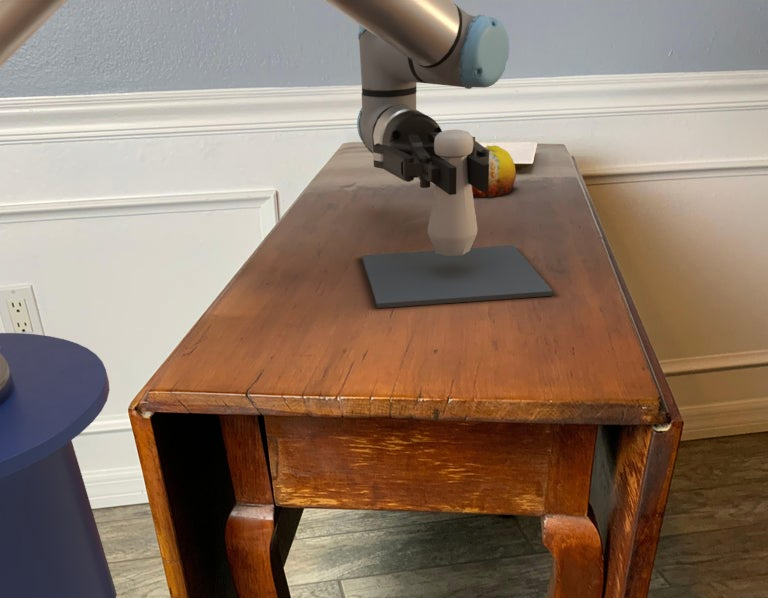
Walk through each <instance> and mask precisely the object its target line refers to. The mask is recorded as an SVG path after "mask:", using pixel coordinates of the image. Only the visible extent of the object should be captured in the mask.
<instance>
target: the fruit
mask: <svg viewBox="0 0 768 598" xmlns="http://www.w3.org/2000/svg"><path fill="white" fill-rule="evenodd" d="M485 148H486V149H488V150H489V183H488V191H484V192H481V191H480V190H478V189H477V188H475V187H473V186H472V185H471V186H472V193H473V198H492V197H500V196H505V195H507V194H509V193H510V192H511V191H512V189H513V188H514V186H515V181H516V175H517V172H516V171H517V170H516V171H515V165H514V162H513V159H512V158H511V156H510V154H509V153H508V152H507V151H506V150H504V149H502V148H500V147H499V146H487V147H485Z"/></svg>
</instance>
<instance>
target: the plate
mask: <svg viewBox="0 0 768 598" xmlns="http://www.w3.org/2000/svg"><path fill="white" fill-rule="evenodd" d="M477 142H478V143H479V144H480V145H482V146H483V147H487V146H499V147H500V148H502V149H504V150H506V151H507V152H508V153H509V154H510V156H511V158H512V159H513V162H514V165H515V171H519V170H523V169H525V168H528V167H532V165H533V164H534V160H535V156H536V151H537V146H538V143H537V142H535V141H532V142H531V141H524V142H523V141H496V142H495V141H477Z"/></svg>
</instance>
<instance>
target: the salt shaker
mask: <svg viewBox="0 0 768 598" xmlns="http://www.w3.org/2000/svg"><path fill="white" fill-rule="evenodd" d="M472 136H473V135H472V134H471V133H470V132H469V131H467V130H462V129H447V130H446V129H445V130H442V132H440V133H438V134H437V135H436V137H435V140H434V151H435V153H436V155H438V156H440V158H442V159H444V160H445V161H447V162H449V163H450V164H452V165H453V166H455V167H457V176H456V194H454V195H449V194H448V193H446V192H445V191H443V190H442V189H441V188H439V187H438V186H436V185H435V186H434V192H433V197H432V203H431V208H430V214H429V220H428V224H427V225H428V226H427V235H428V237H429V240H430V242H431V244H432V247H433V250H435V252H436V253H437V254H441V255H445V256H455V255H463V254H465V253H467V252H469V251H470V249H471V248H473V247H472V246H473V244H474V242H475V240H476V237H477V235H478V231H479V229H478V223H477V222H478V221H477V216H476V207H475V201H474V197H473V193H472V186H471V185H470V184H469V183H468V166H467V155H469V154H471V153H472V150H473V137H474V136H473V137H472Z"/></svg>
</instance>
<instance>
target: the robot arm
mask: <svg viewBox="0 0 768 598" xmlns="http://www.w3.org/2000/svg"><path fill="white" fill-rule="evenodd" d="M67 1H68V0H0V68H1V67H2V66H3V65H4V64H5V63H6V62H7V61H8V60H9V59H10V58H12V56H14V54H16V52H17V51H18V50H20V48H21V47H22V46H24V45H25V43H27V41H29V39H30V38H32V37H33V36H34V35H35V33H37V32H38V30H40V29H41V28H42V26H43V25H45V24H46V22H47V21H49V19H50V18H52V17H53V15H54V14H56V13H57V11H59V10H60V9H61V7H63V6H64V5H65V4H66V3H67ZM322 1H323V2H325V3H326V4H328V5H330V6H331V7H332V8H333V9H335V10H337V11H338V12H340V13H341V14H343V15H345V17H347V18H349V19H350V20H352V21H353V22H355V23H356V24H358V34H357V37H358V43H359V44H358V45H359V60H360V61H359V62H360V78H361V108H360V111H359V112H358V115H357V119H356V128H357V129H356V130H357V133H358V134H357V135H358V136H359V138H360V140H361V141H362V144H363V145H364V147H365V148H366V149H367V151H369V153H370V154H372V156H373V167H374V168H377V169H382V170H384V171H386V172H387V173H389V174H390V175H393V176H395V177H396V178H398V179H400V180H402V181H404V182H406V183H410V182H413V181H415V179H419V188H421V189H427V188H429V189H430V188H431V184H434V185H435V186H438V187H439V188H441V189H442V190H443V191H445V192H446V193H448V194H449V195H454V194H456V176H457V167H455V166H453V165H452V164H450V163H449V162H447V161H445V160H444V159H442V158H440V156H438V155H436V153H435V151H434V140H435V137H436V135H437V134H438V133H440V132H442V131H443V130H442V128H441V126H440V124H439V123H438V122H437V121H436V120H435V119H433V118H432V117H431V116H429V115H427V114H425V113H423V112H421V111H420V110H418V109H417V84H418V83H419V84H430V85H437V86H438V85H439V86H448V87H449V86H450V87H456V88H457V87H458V88H464V89H467V90H471V89H472V88H489V87H492V86H493V85H495V84H496V83H497V82H498V81H499V80H500V79H501V78H502V76H503V74H504V73H505V70H506V66H507V63H508V60H509V55H510V39H509V34H508V31H507V29H506V26H505V25H504V24H503V22H502V21H501V20H500V19H498V18H497V17H493V16H486V15H484V14H477V15H473V14H469V13H467V12H466V11H464V10H463V8H461V7H459V6H458V5H457V4H456V3H455V2H453V1H452V0H322ZM472 137H473V150H472V153H471V154H469V155H467V166H468V183H469V184H470V185H472V186H473V187H475V188H477V189H478V190H480V191H481V192H484V191H488V183H489V150H488V149H486V148H485V147H483V146H482V145H480V144H479V143H478V142H479V141H476V136H473V135H472ZM0 348H1V347H0ZM13 388H14V382H13V378H12V375H11V372H10V369H9V366H8V363H7V361H6V359H5V358H4V357H3V356H2V354H1V353H0V405H1V404H3V403H4V402H5V401H6V400H7V399H8V397H9V396H10V395H11V393H12V391H13Z"/></svg>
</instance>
